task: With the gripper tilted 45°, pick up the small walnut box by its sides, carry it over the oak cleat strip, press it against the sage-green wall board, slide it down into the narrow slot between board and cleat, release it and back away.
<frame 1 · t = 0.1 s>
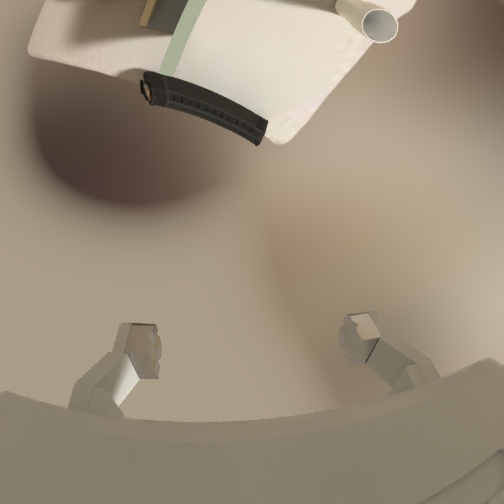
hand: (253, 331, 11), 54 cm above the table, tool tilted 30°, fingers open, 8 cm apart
drinking glass: (346, 6, 35), on the table
magazine: (208, 95, 55), on the table
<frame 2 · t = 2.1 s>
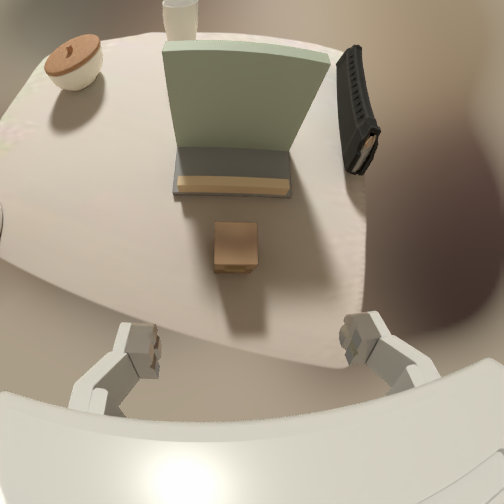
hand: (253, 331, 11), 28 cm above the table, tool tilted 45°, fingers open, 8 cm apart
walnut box: (232, 255, 40), on the table
lidded bowl: (83, 80, 44), on the table
wall board: (232, 168, 43), on the table
drinking glass: (182, 55, 48), on the table
magazine: (344, 116, 49), on the table
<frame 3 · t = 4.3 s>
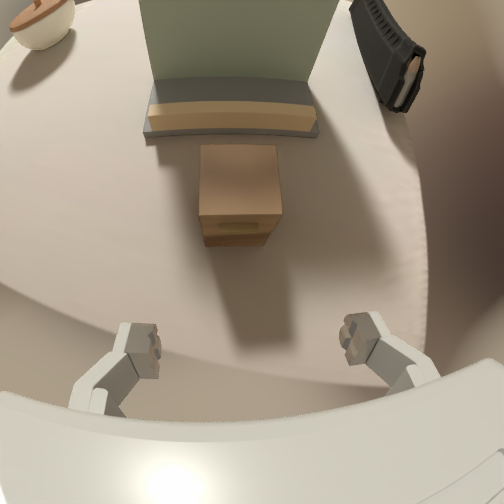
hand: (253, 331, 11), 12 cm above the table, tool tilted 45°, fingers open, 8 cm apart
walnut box: (233, 218, 25), on the table
lidded bowl: (53, 39, 29), on the table
wall board: (231, 101, 28), on the table
magazine: (368, 56, 34), on the table
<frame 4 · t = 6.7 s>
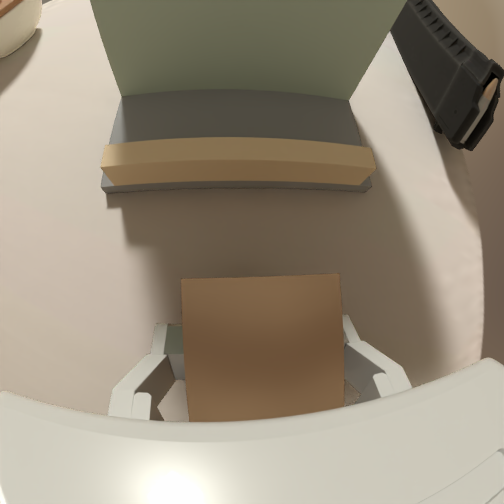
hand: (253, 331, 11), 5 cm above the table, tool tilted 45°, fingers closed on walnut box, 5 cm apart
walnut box: (245, 337, 16), on the table, touching gripper
lidded bowl: (17, 43, 20), on the table
wall board: (237, 129, 19), on the table
magazine: (410, 64, 25), on the table
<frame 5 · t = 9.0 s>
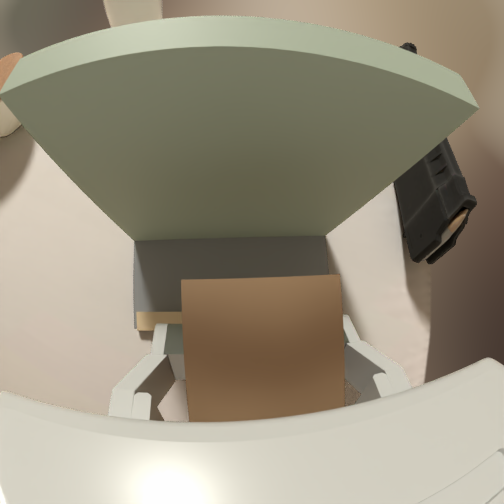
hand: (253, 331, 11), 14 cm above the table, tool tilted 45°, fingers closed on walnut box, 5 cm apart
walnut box: (245, 337, 16), point 9 cm above the table, touching gripper
lidded bowl: (14, 118, 27), on the table
wall board: (231, 274, 26), on the table
drinking glass: (146, 66, 31), on the table
magazine: (395, 153, 32), on the table
when the fingers open (7 cm above the table, at t = 11.5 s): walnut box stays where it is, resting on wall board.
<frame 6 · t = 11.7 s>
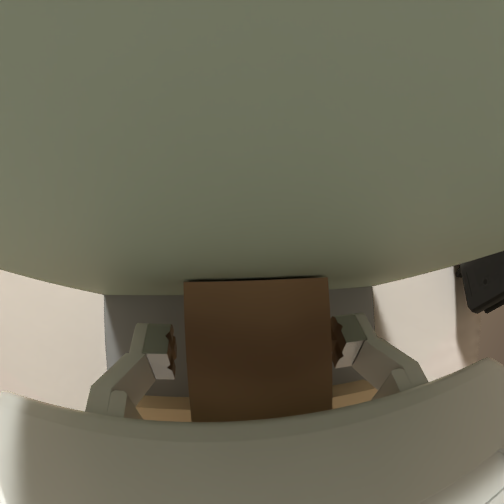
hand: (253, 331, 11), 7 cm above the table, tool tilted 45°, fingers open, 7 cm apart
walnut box: (243, 335, 17), point 1 cm above the table, touching wall board
wall board: (243, 344, 18), on the table
magazine: (443, 166, 24), on the table
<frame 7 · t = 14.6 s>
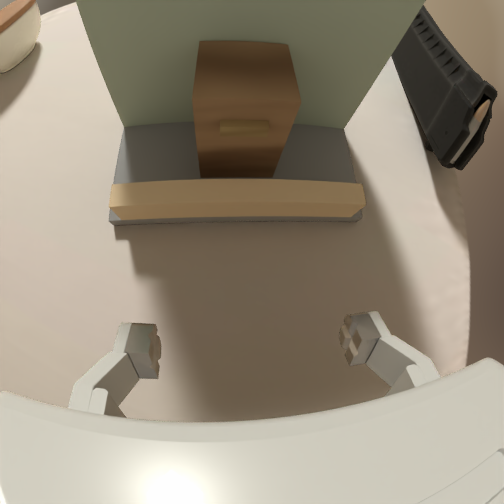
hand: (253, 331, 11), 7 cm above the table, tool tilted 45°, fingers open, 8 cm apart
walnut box: (235, 147, 20), point 1 cm above the table, touching wall board
lidded bowl: (17, 57, 22), on the table
wall board: (236, 161, 20), on the table
magazine: (406, 79, 27), on the table
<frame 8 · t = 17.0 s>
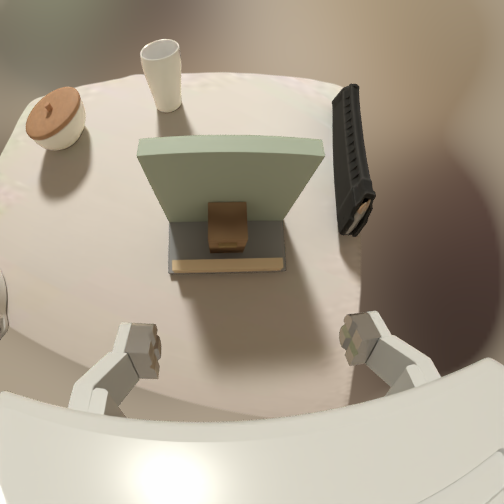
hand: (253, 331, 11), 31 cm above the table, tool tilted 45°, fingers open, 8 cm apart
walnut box: (226, 237, 44), point 1 cm above the table, touching wall board
lidded bowl: (68, 135, 46), on the table
wall board: (226, 242, 44), on the table
drinking glass: (169, 104, 49), on the table
magazine: (339, 164, 51), on the table
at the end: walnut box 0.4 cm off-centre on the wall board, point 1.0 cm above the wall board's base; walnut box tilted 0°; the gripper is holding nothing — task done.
